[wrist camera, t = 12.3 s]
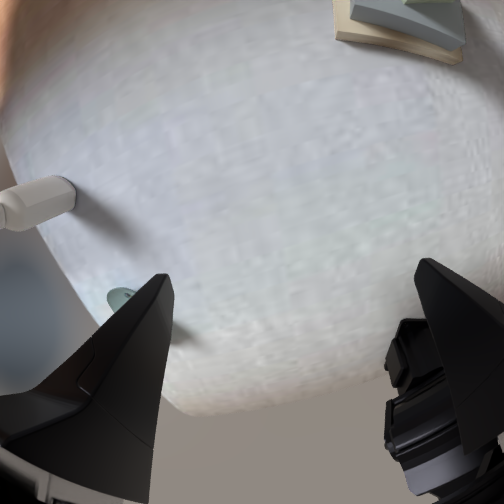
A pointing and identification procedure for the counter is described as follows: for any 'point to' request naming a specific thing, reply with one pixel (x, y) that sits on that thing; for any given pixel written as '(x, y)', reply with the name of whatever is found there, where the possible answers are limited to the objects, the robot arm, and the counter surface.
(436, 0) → the pillar block
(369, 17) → the tower middle
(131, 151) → the counter surface
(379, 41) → the tower base
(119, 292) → the pacifier
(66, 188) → the eye dropper bottle
